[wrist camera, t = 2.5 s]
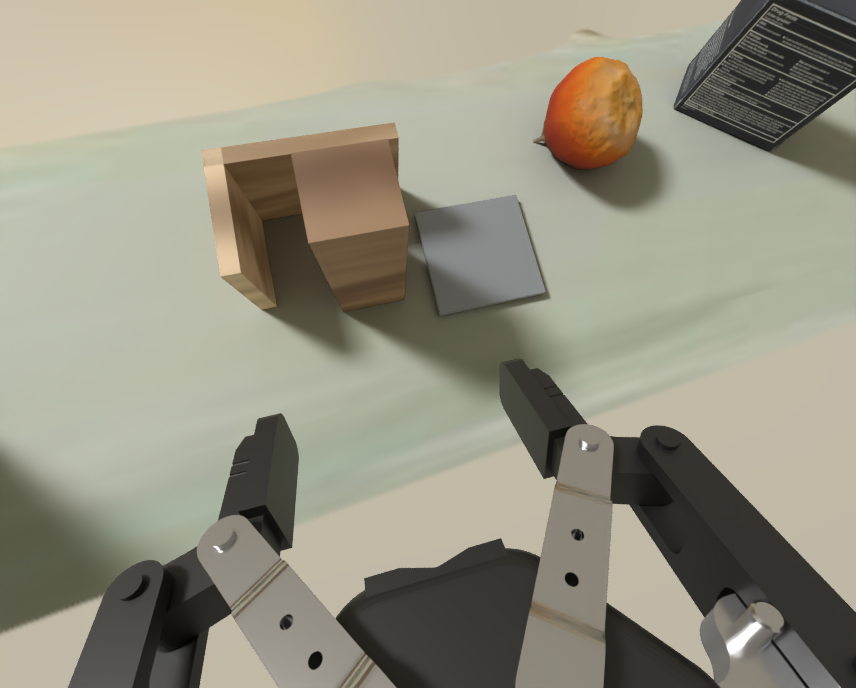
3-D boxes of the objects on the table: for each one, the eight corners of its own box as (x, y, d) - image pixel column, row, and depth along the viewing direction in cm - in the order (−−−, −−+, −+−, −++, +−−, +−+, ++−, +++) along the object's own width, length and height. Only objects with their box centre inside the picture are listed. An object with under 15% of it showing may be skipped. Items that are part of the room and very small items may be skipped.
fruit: (545, 71, 34) (630, 14, 27) (587, 141, 38) (671, 107, 31) (503, 133, 33) (582, 90, 26) (551, 200, 36) (631, 178, 30)
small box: (784, 103, 38) (929, -14, 28) (770, 154, 36) (917, 51, 26) (688, 60, 38) (796, -73, 28) (670, 109, 36) (778, -12, 26)
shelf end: (418, 278, 31) (424, 238, 24) (261, 309, 29) (220, 276, 23) (394, 185, 32) (394, 122, 26) (244, 209, 31) (201, 150, 24)
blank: (404, 299, 30) (409, 225, 19) (342, 311, 30) (308, 243, 18) (390, 243, 31) (387, 138, 20) (331, 254, 31) (290, 153, 19)
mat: (439, 316, 30) (440, 314, 30) (414, 216, 32) (414, 212, 31) (542, 294, 32) (545, 291, 31) (513, 198, 33) (516, 194, 32)
